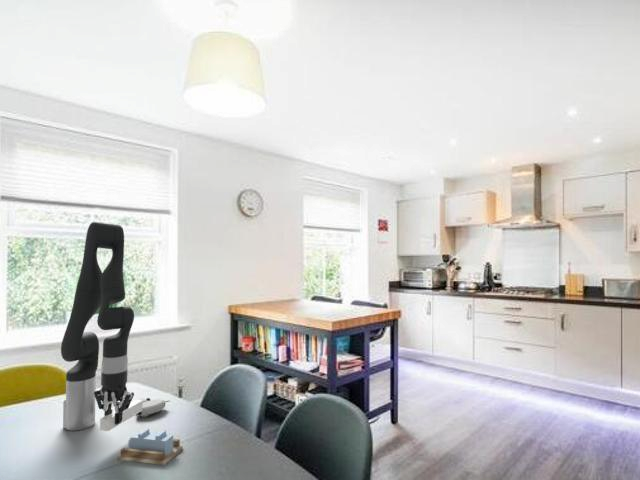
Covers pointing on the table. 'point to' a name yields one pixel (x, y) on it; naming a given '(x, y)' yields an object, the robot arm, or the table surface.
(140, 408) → the white rectangular bar
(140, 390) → the table surface
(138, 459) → the jig
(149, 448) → the light blue stepped block
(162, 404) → the robot toy
